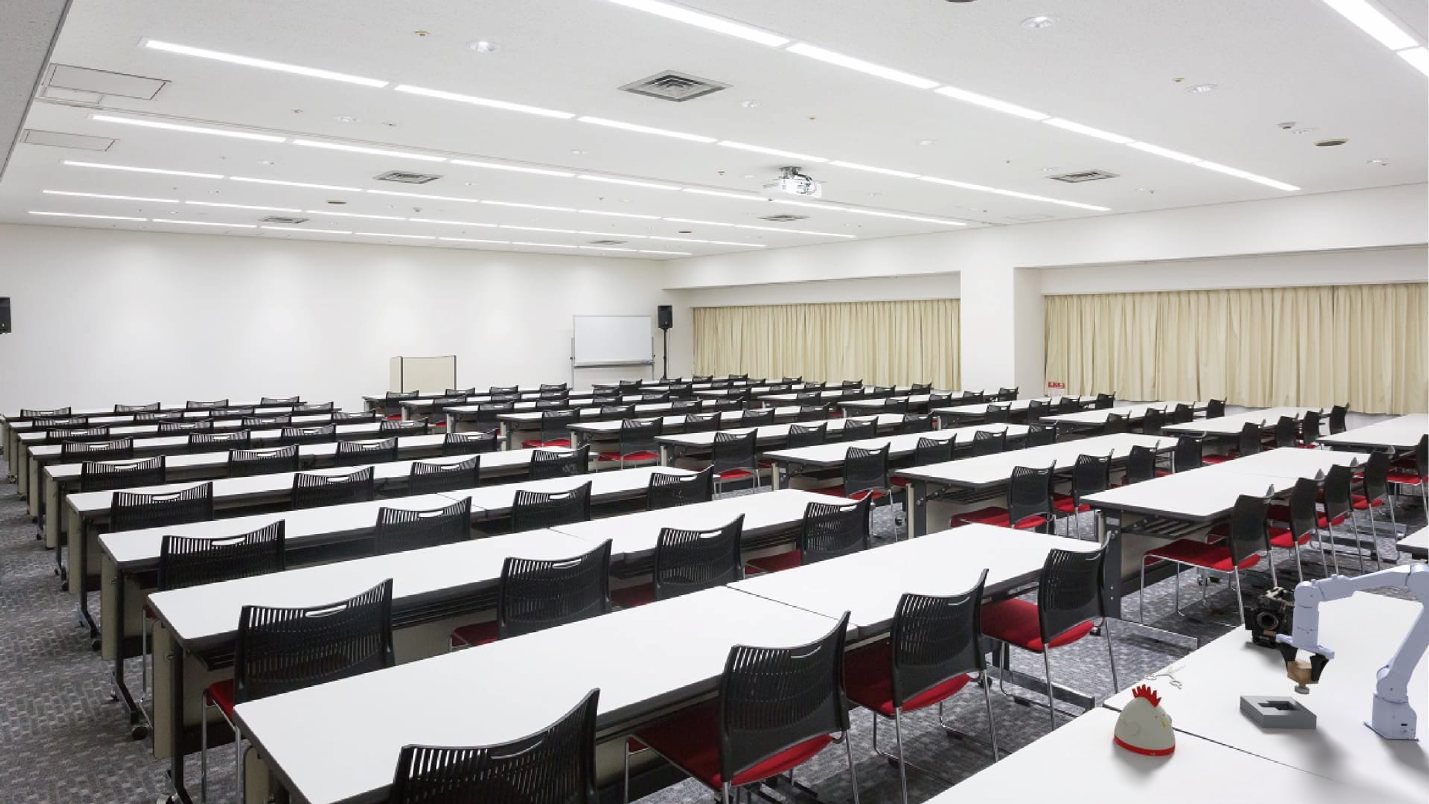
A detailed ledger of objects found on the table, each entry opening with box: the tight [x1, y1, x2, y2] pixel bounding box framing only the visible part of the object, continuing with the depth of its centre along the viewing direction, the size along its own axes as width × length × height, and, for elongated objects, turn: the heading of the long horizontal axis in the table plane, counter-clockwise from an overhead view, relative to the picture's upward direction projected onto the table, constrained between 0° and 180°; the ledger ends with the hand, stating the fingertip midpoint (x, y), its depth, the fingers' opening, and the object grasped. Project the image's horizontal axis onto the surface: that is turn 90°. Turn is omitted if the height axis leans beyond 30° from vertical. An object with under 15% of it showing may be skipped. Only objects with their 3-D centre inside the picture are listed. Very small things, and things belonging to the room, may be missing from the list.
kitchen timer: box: [1113, 683, 1176, 757], centre depth 227 cm, size 14×14×15 cm
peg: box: [1286, 660, 1319, 696], centre depth 243 cm, size 5×5×8 cm
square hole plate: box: [1239, 695, 1318, 730], centre depth 241 cm, size 12×13×3 cm
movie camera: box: [1243, 586, 1295, 650], centre depth 298 cm, size 31×18×18 cm, turn 132°
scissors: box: [1144, 663, 1185, 690], centre depth 271 cm, size 11×1×20 cm
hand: (1302, 676), depth 243 cm, fingers closed on peg, 6 cm apart
